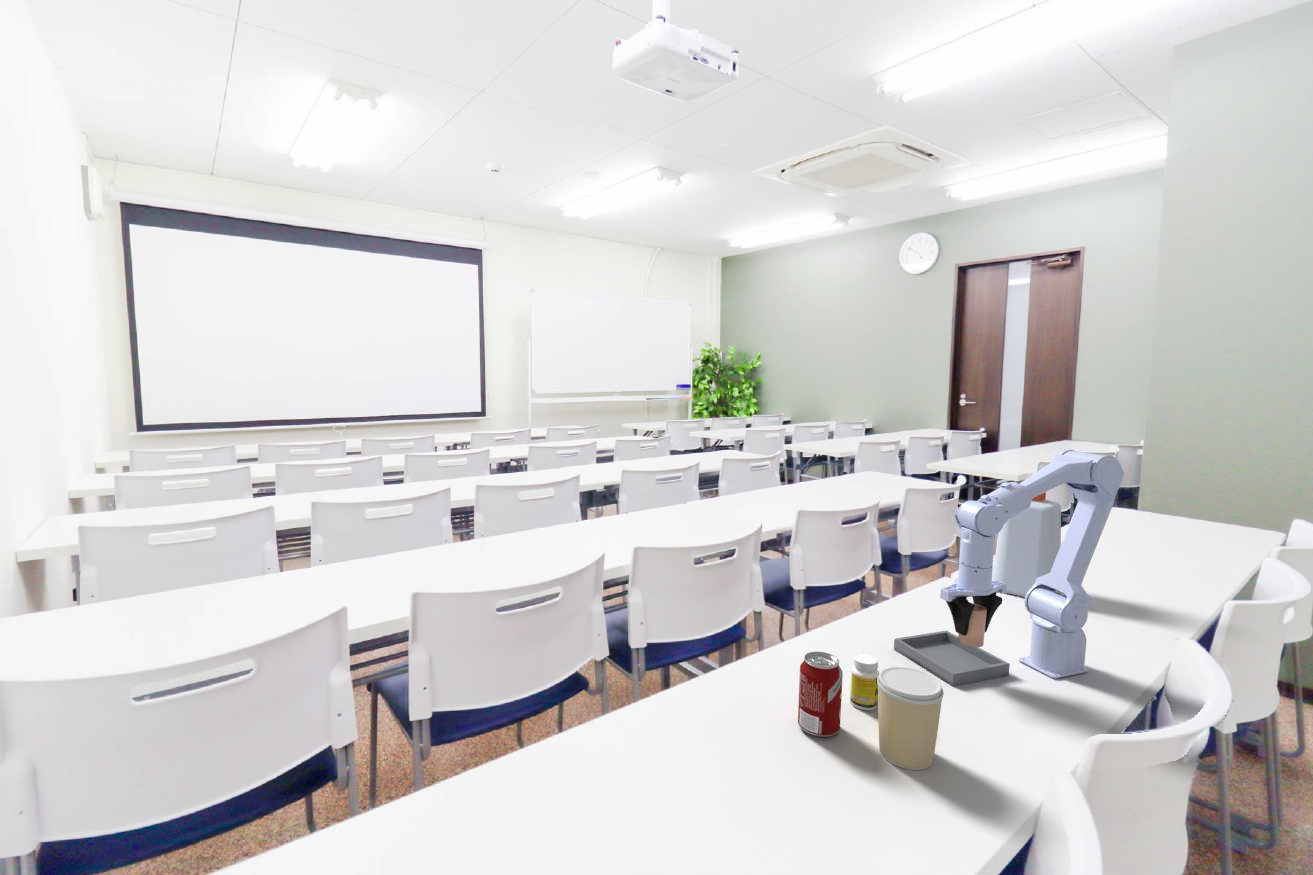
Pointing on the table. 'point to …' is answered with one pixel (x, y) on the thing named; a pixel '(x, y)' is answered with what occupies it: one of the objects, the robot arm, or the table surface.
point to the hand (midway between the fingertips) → (970, 631)
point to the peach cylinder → (975, 628)
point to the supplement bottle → (864, 682)
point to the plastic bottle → (1028, 546)
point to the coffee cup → (908, 716)
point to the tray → (951, 658)
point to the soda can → (820, 694)
